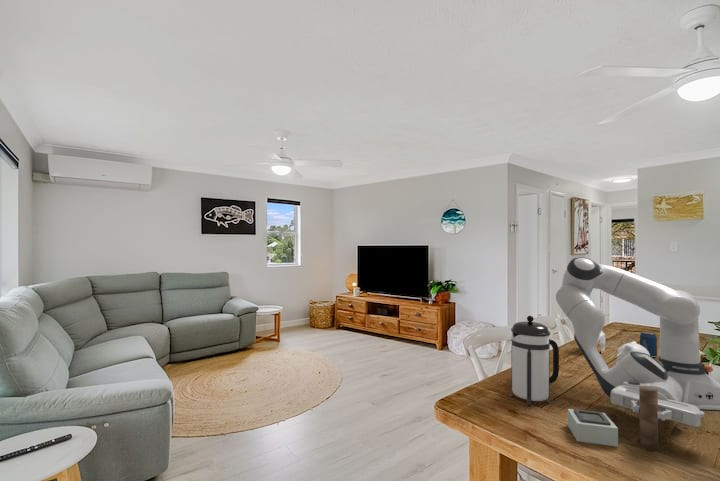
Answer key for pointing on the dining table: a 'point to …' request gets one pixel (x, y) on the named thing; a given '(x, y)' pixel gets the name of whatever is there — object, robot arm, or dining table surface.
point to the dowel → (648, 418)
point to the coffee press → (532, 361)
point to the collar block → (592, 427)
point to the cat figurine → (601, 340)
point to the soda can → (649, 342)
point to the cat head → (630, 349)
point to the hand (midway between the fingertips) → (647, 413)
